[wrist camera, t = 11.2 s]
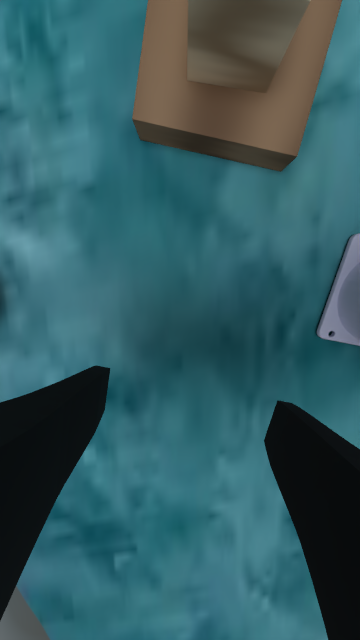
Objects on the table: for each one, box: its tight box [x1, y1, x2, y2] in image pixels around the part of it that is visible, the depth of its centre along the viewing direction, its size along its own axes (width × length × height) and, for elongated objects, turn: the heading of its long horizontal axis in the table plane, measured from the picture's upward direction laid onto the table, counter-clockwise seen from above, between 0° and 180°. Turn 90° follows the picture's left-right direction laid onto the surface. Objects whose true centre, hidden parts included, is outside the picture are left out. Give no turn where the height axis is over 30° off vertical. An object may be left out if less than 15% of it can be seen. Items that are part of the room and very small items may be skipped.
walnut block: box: [132, 0, 342, 171], centre depth 14 cm, size 10×10×3 cm
